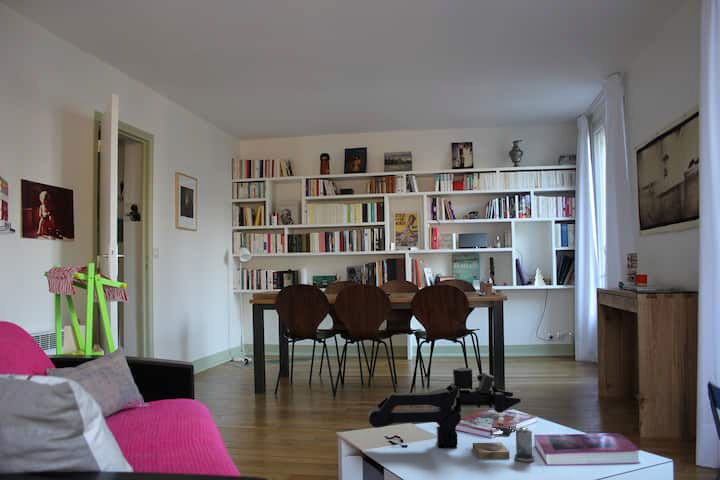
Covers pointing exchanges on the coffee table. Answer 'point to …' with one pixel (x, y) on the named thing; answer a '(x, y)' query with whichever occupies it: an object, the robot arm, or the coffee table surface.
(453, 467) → the coffee table surface
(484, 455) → the stand
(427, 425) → the coffee table surface
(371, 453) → the coffee table surface
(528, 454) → the cylinder
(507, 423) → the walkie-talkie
